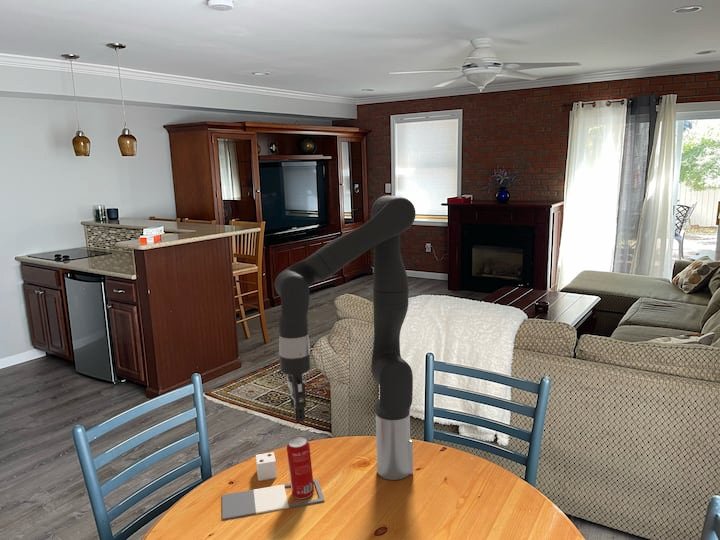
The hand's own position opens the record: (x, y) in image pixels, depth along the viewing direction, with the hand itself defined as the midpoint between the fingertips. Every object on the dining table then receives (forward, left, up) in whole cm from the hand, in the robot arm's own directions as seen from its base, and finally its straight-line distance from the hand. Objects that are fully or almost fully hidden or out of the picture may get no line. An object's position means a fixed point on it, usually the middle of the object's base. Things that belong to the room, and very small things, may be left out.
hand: (297, 413), depth 134 cm
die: (+8, -12, -22) cm, 27 cm away
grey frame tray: (+8, 0, -22) cm, 24 cm away
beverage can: (0, 0, -22) cm, 22 cm away
